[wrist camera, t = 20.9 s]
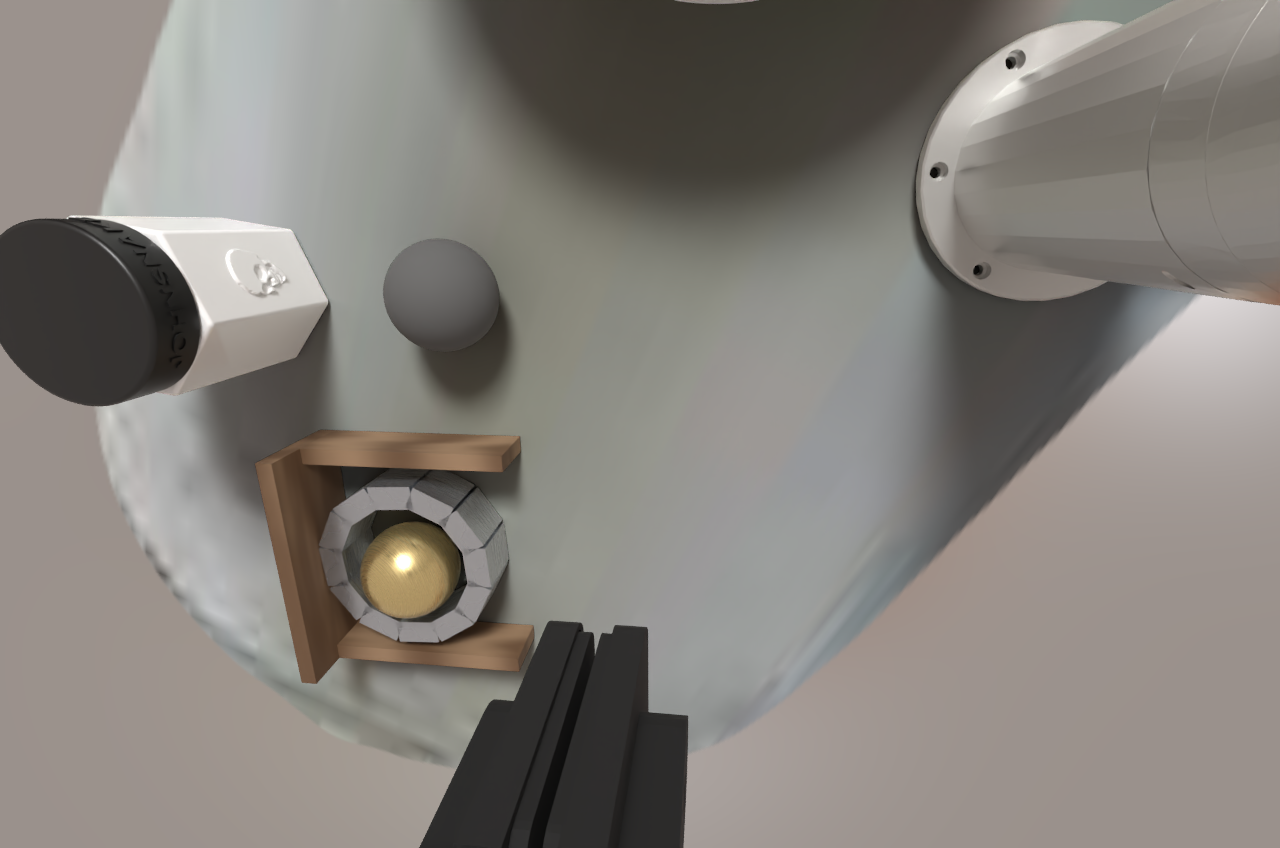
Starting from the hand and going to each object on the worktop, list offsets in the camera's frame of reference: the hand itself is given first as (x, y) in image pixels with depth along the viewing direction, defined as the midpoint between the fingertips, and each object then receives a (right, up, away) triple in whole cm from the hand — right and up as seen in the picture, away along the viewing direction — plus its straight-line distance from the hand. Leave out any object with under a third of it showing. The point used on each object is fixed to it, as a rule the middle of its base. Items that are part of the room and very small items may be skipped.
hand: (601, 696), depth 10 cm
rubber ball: (-10, +12, +23) cm, 28 cm away
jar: (-23, +13, +28) cm, 38 cm away
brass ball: (-14, -5, +29) cm, 32 cm away
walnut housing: (-14, -3, +31) cm, 34 cm away
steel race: (-14, -3, +31) cm, 35 cm away
